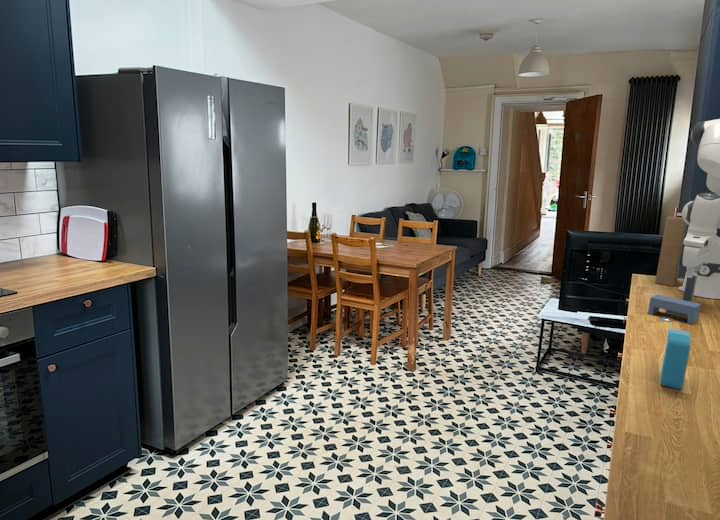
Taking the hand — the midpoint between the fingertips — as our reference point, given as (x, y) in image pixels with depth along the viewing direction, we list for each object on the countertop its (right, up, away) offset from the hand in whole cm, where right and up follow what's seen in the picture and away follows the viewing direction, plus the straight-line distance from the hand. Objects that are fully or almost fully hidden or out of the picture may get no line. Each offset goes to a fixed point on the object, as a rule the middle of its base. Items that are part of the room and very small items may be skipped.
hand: (693, 275), depth 192 cm
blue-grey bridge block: (-13, -15, -8) cm, 21 cm away
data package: (-45, -25, -62) cm, 81 cm away
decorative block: (+17, -5, +45) cm, 48 cm away
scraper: (-5, -13, -1) cm, 14 cm away
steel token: (-17, -16, -13) cm, 26 cm away
